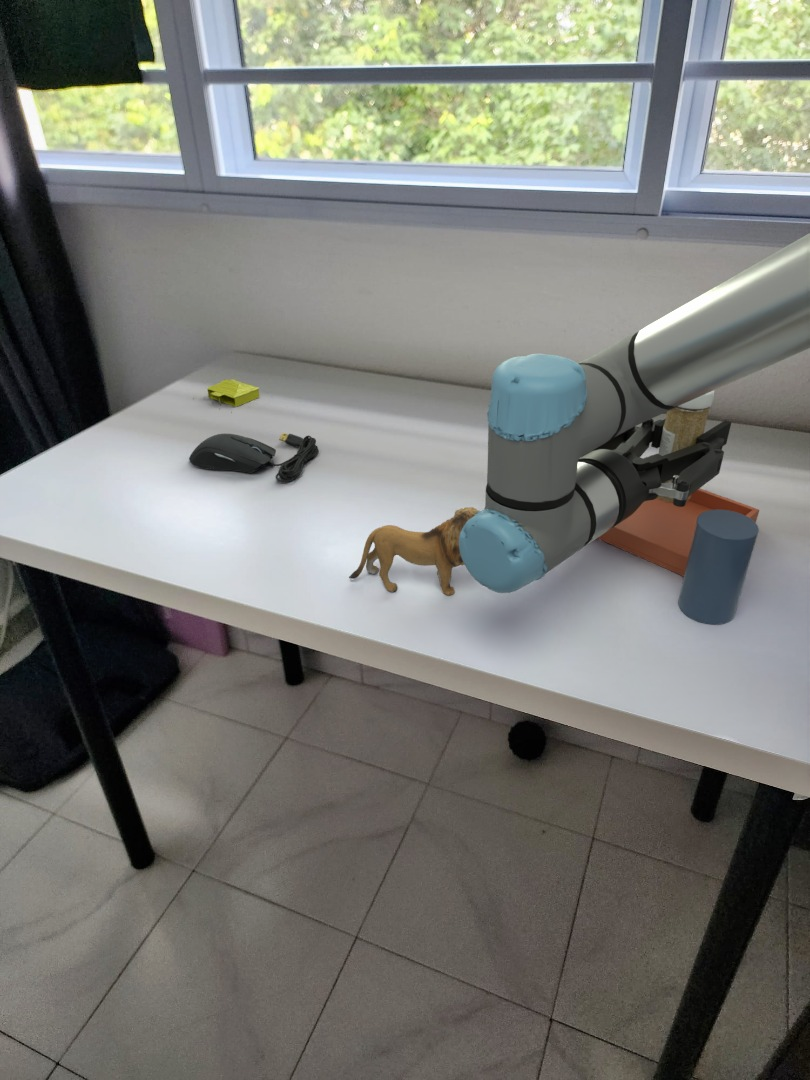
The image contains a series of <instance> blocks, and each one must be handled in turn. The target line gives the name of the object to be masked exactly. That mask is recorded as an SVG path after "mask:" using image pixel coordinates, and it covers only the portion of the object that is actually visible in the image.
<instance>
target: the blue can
mask: <svg viewBox="0 0 810 1080" xmlns="http://www.w3.org/2000/svg"><path fill="white" fill-rule="evenodd" d="M759 530H760V528H759V526H758V523H757V522H756V523H755V522H754V521H753V520H752V519H751V518H749V517H747V516H745V515H743V514H740V513H737V512H734V511H729V510H709V511H705V512H703V513H701V514H700V515H699V516H698V517H697V521H696V525H695V530H694V534H693V538H692V543H691V547H690V552H689V556H688V561H687V565H686V570H685V574H684V576H683V579H682V583H681V588H680V592H679V595H678V596H679V597H678V601H677V603H678V608H679V609H680V611H681V612H682V613H683V614H684V615H685V616H687V617H688V618H690V619H692V620H694V621H696V622H699V623H701V624H707V625H722V624H726V623H730V622H731V621H732V620H734V618H735V617H736V613H737V610H738V606H739V603H740V599H741V595H742V593H743V588H744V585H745V580H746V579H747V578H746V577H747V575H748V571H749V566H750V564H751V559H752V556H753V552H754V549H755V545H756V542H757V539H758V536H759V535H758V534H759Z"/></svg>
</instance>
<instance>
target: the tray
mask: <svg viewBox="0 0 810 1080" xmlns="http://www.w3.org/2000/svg"><path fill="white" fill-rule="evenodd" d="M709 510H729V511H734V512H737V513H740V514H743V515H745V516H747V517H749V518H751V519H752V520H753V521H754V522H755V523H756V524H757V520H758V517H759V513H760V509H759V508H755V507H753V506H750V505H748V504H745V503H742V502H739V501H736V500H733V499H730V498H728V497H725V496H722V495H719V494H717V493H714V492H712V491H708V490H705V489H703V488H699V489H698V490H697V491H695V492H694V493H693V494H691V498H690V499H689V500H687V502H686V505H685V506H683V507H678V506H675V505H674V504H673V503H668V502H664V501H662V500H659V499H657V498H656V499H654V500H649V501H645V502H643V503H642V504H641V505H640V507H639V508H638V509H637V510H636V511H635V512H634V513H633V514H632V515H631V516H629V517H628V518H626V519H625V520H623V521H622V522H620V523H619V524H617V525H616V526H614V527H613V528H611V529H609V530H608V531H607V532H605V533H604V534H602V535H601V536H599V537H598V538H597V539H598V540H600V541H602V542H605V543H607V544H609V545H612V546H613V547H616V548H618V549H621V550H623V551H625V552H626V553H627V552H628V553H629V554H632V555H635V556H636V557H639V558H641V559H644V560H646V561H647V562H650V563H652V564H654V565H657V566H659V567H661V568H664V569H666V570H667V571H668V570H669V571H670V572H673V573H675V574H678V575H680V576H682V577H684V574H685V570H686V565H687V561H688V556H689V552H690V547H691V543H692V538H693V534H694V530H695V525H696V521H697V517H698V516H699V515H700V514H701V513H703V512H705V511H709Z"/></svg>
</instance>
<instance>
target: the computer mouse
mask: <svg viewBox="0 0 810 1080" xmlns="http://www.w3.org/2000/svg"><path fill="white" fill-rule="evenodd" d="M278 440H279V441H281V442H284V443H285V444H286V445H289V446H292V447H294V448H297V451H296V454H293V456H292V457H291V458H289V459H287V460H285V461H284V462H281V463H274V462H273V461H271V460H272V459H274V457H275V456H276V452H277V449H276V448H274V447H272V446H270V445H268V444H266V443H263V442H261V441H259V440H256V439H254V438H251V437H247V436H243V435H240V434H234V433H217V434H214V435H211V436H209V437H207V438H206V439H204V440H203V441H201V442H200V443H199V444H198V445H197V446H196V447H195V448H194V449H193V451H192V452H191V454H190V455H189V457H188V460H189V462H190V463H191V464H192V465H193V466H194V467H196V468H200V469H204V470H212V471H236V472H243V473H249V474H252V473H254V472H257V471H258V470H260V469H262V468H263V467H271V468H274V467H279V468H278V472H277V473H276V474H275V480H276V481H278V482H280V483H288V482H291V481H293V480H294V479H295V478H297V477H299V476H300V474H301V473H302V471H303V468H304V465H306V464H307V461H309V460H311V459H313V458H314V457H316V456H317V455H318V454H319V446H318V445H317V444H316V443H317V440H316V438H315V437H312V436H311V435H310V434H309V435H306V436H304V437H301V436H299V435H295V434H293V433H286V432H281V435H280V437H279V439H278Z"/></svg>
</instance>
